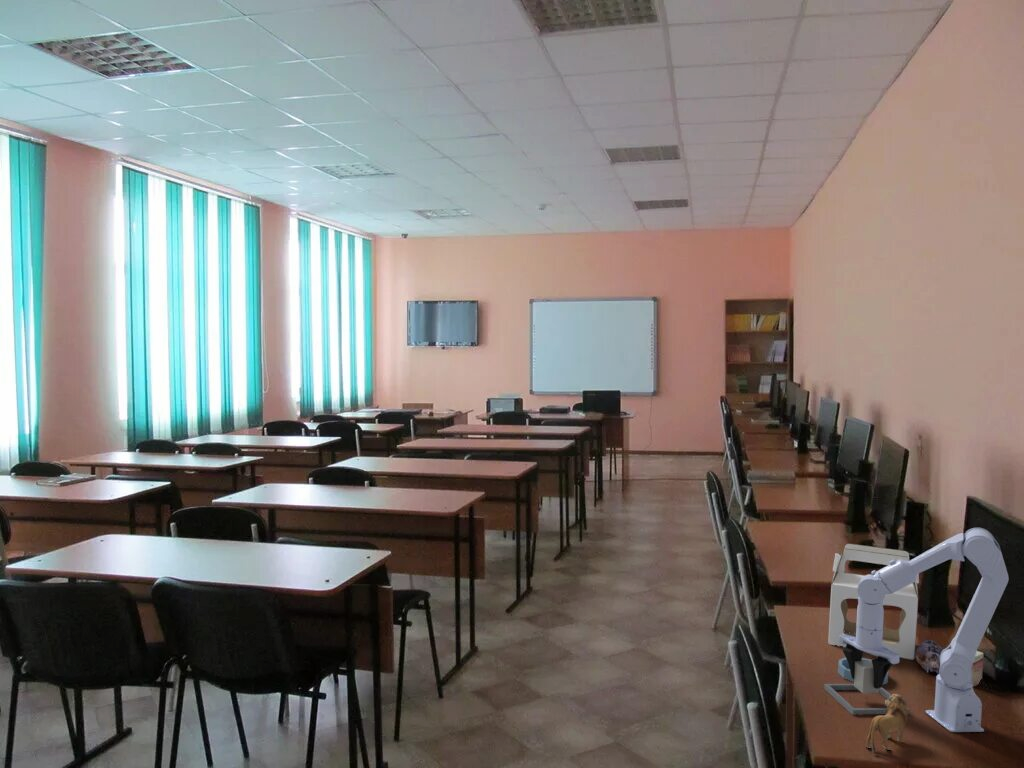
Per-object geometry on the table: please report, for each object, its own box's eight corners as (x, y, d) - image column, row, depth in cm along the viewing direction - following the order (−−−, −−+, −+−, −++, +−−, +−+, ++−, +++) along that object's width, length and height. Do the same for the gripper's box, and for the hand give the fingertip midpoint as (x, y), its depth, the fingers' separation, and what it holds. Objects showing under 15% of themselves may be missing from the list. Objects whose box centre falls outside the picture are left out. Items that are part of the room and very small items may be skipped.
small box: (973, 687, 198) (975, 656, 197) (955, 681, 201) (957, 650, 201) (982, 683, 201) (984, 652, 200) (964, 676, 204) (966, 646, 204)
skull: (946, 679, 202) (948, 656, 202) (913, 672, 206) (914, 649, 206) (946, 663, 213) (948, 641, 212) (914, 657, 216) (916, 635, 216)
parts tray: (909, 714, 182) (909, 709, 182) (852, 715, 181) (852, 709, 181) (877, 688, 196) (877, 683, 195) (824, 688, 194) (824, 683, 194)
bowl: (897, 685, 197) (897, 675, 197) (852, 685, 196) (853, 676, 196) (872, 666, 209) (872, 657, 209) (829, 666, 208) (830, 657, 208)
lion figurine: (885, 727, 175) (887, 688, 175) (910, 736, 172) (913, 696, 171) (860, 751, 165) (863, 709, 164) (887, 761, 161) (890, 718, 161)
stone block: (878, 693, 186) (880, 668, 186) (862, 693, 186) (863, 668, 185) (869, 685, 190) (871, 661, 190) (853, 685, 190) (855, 661, 189)
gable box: (827, 644, 224) (832, 546, 222) (830, 629, 236) (835, 536, 234) (915, 660, 214) (921, 558, 212) (914, 644, 226) (920, 547, 224)
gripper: (908, 633, 183) (905, 691, 184) (853, 614, 195) (850, 668, 196) (890, 639, 179) (886, 697, 180) (834, 618, 192) (832, 673, 192)
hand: (866, 682), depth 188 cm, fingers closed on stone block, 5 cm apart
